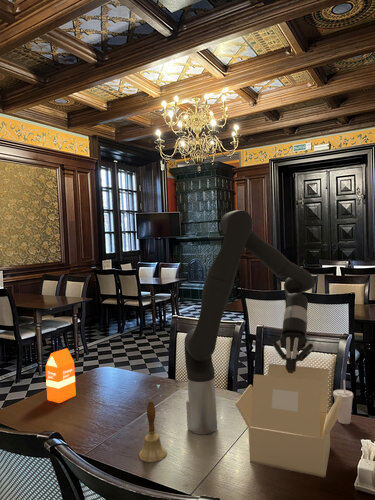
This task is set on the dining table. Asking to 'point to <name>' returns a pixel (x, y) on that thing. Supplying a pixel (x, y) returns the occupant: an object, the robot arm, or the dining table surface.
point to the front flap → (286, 405)
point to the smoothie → (344, 404)
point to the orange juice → (60, 376)
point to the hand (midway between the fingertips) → (290, 371)
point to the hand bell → (152, 440)
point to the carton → (289, 444)
